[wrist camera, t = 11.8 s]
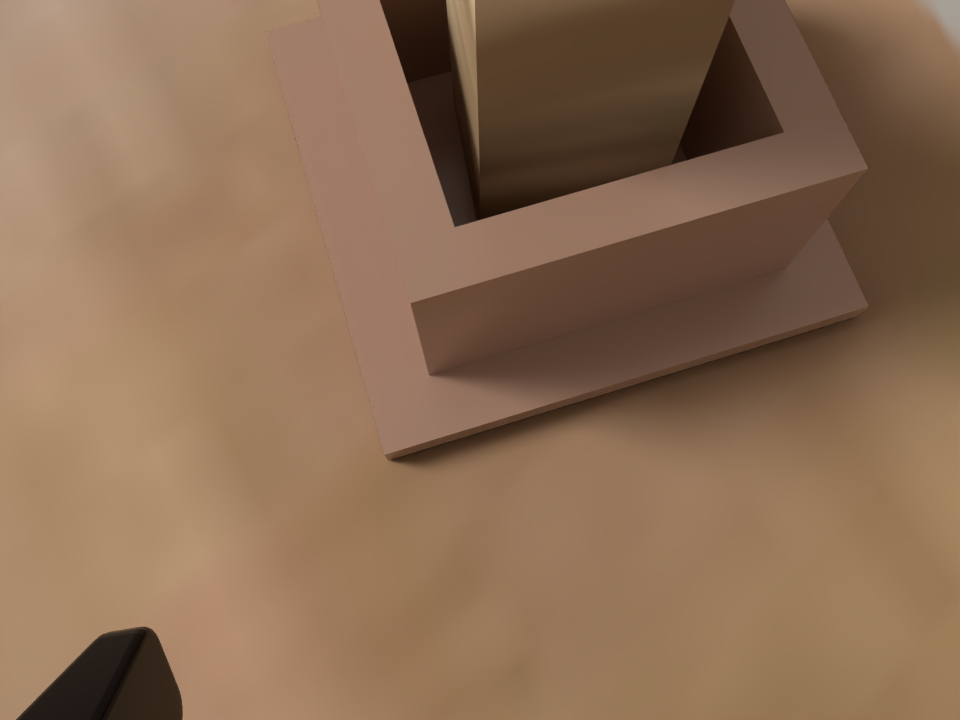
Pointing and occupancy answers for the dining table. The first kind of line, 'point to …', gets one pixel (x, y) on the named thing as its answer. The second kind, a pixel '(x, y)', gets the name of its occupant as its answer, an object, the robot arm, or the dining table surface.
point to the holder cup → (560, 226)
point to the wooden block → (574, 90)
